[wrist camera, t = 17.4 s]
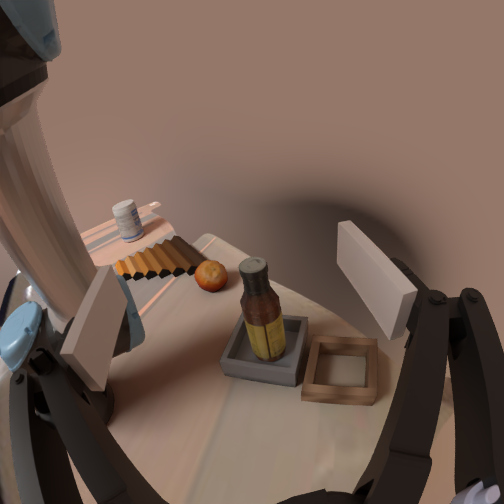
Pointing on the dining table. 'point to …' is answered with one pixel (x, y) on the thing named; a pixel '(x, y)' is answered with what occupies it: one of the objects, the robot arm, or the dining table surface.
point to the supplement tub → (128, 221)
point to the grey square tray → (251, 368)
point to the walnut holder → (337, 392)
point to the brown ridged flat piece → (161, 261)
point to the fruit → (211, 275)
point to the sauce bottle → (261, 311)
